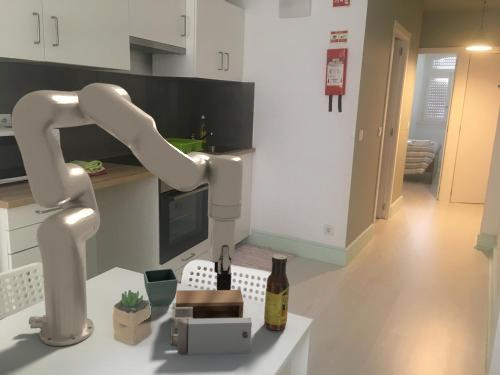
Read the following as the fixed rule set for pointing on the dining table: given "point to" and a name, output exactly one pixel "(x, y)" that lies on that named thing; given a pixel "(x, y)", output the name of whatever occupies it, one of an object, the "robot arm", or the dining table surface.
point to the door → (214, 336)
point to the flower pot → (160, 286)
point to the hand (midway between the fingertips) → (222, 280)
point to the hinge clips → (177, 315)
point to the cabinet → (212, 303)
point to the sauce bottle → (277, 295)
